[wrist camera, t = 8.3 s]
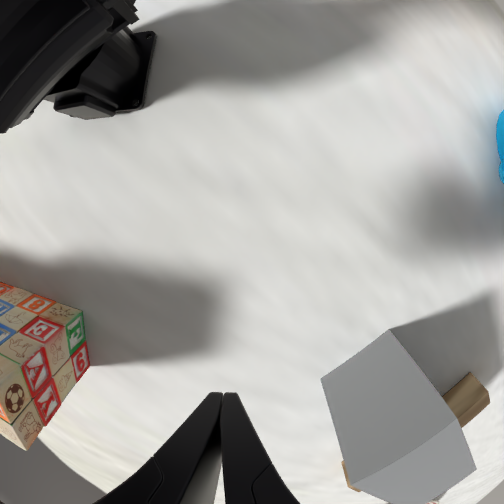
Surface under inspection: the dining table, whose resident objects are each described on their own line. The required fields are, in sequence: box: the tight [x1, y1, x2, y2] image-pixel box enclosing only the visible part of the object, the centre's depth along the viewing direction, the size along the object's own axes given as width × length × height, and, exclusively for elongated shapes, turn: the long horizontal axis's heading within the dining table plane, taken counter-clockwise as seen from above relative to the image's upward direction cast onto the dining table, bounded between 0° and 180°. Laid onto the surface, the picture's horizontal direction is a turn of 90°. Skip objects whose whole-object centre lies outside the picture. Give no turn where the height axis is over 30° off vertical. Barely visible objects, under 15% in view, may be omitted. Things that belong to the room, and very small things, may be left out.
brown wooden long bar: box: [342, 372, 490, 492], centre depth 22 cm, size 3×18×4 cm, turn 130°
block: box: [321, 329, 476, 504], centre depth 17 cm, size 14×7×11 cm, turn 40°
